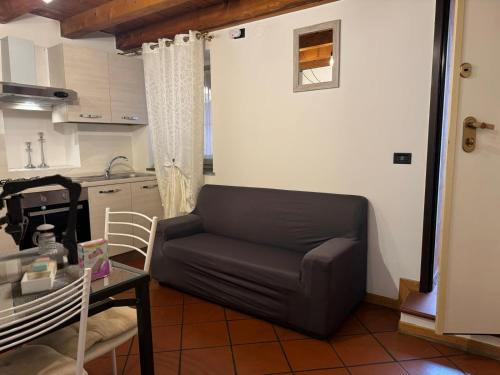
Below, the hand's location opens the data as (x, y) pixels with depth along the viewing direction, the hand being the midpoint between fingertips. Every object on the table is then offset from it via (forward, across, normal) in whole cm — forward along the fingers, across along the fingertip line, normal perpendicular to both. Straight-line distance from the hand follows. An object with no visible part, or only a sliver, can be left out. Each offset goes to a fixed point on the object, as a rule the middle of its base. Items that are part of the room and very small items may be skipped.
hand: (19, 242), depth 156 cm
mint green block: (+10, +14, +9) cm, 19 cm away
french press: (+14, -24, +7) cm, 29 cm away
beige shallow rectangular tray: (+14, +11, +9) cm, 19 cm away
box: (+14, +24, +9) cm, 29 cm away
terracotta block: (+10, +8, +9) cm, 15 cm away
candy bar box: (+14, +26, +30) cm, 42 cm away
